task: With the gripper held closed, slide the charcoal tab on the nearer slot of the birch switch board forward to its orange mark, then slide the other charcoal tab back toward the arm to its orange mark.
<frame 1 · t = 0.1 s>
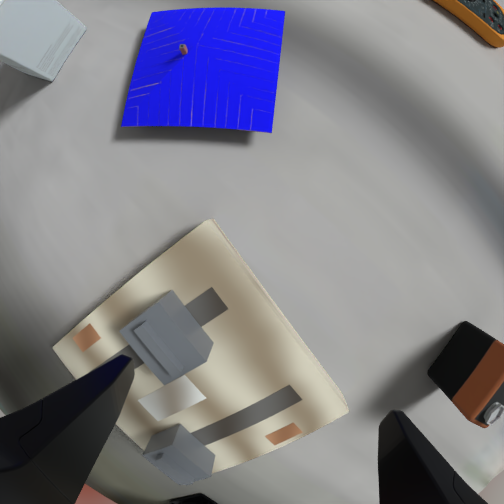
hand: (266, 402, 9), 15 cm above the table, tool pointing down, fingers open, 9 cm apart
supplement box: (54, 51, 21), on the table
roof: (208, 72, 22), on the table
switch tab a: (178, 459, 21), point 5 cm above the table, slide at 0.0 cm
switch board: (194, 373, 25), on the table
battery: (453, 352, 24), on the table
switch tab b: (165, 340, 19), point 5 cm above the table, slide at 8.0 cm
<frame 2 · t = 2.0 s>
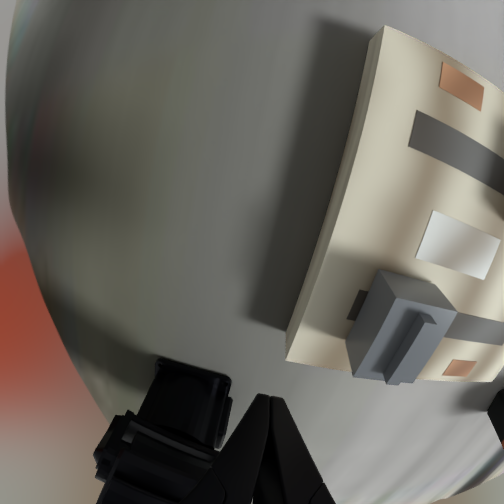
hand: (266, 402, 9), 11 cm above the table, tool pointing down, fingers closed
switch tab a: (400, 333, 14), point 5 cm above the table, slide at 0.0 cm
switch board: (460, 239, 17), on the table
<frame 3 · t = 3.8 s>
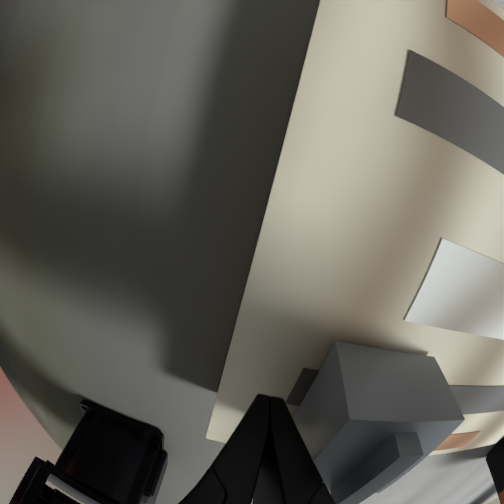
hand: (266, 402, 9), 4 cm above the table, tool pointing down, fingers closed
switch tab a: (365, 440, 8), point 5 cm above the table, slide at 0.0 cm, touching gripper
switch board: (477, 274, 10), on the table
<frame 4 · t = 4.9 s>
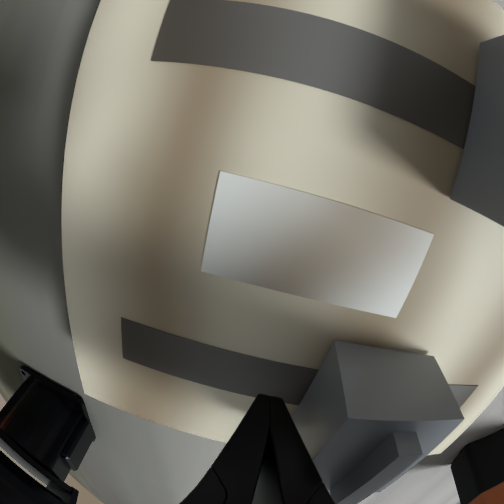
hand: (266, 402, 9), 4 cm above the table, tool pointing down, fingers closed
switch tab a: (364, 439, 8), point 5 cm above the table, slide at 6.3 cm, touching gripper
switch board: (362, 235, 10), on the table
battery: (482, 443, 16), on the table
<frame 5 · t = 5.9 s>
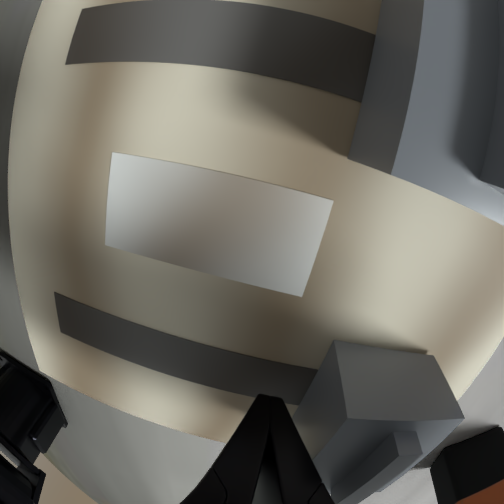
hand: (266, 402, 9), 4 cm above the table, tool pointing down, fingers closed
switch tab a: (364, 439, 8), point 5 cm above the table, slide at 9.4 cm, touching gripper
switch board: (281, 212, 10), on the table
battery: (465, 446, 16), on the table
switch tab b: (480, 89, 4), point 5 cm above the table, slide at 8.0 cm
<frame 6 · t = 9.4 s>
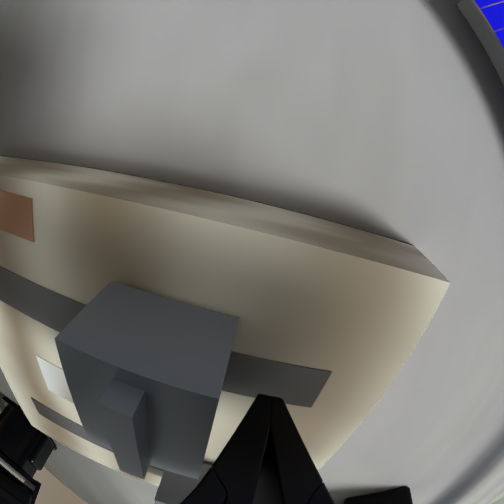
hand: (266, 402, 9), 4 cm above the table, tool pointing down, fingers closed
switch board: (145, 371, 14), on the table
battery: (374, 496, 20), on the table
switch tab b: (147, 400, 7), point 5 cm above the table, slide at 7.1 cm, touching gripper
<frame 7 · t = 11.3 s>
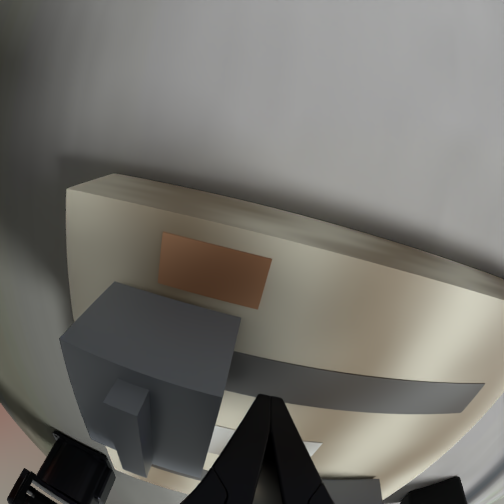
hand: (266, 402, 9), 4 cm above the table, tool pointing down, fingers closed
switch board: (292, 408, 14), on the table
battery: (429, 488, 20), on the table
switch tab b: (150, 399, 8), point 5 cm above the table, slide at -0.9 cm, touching gripper
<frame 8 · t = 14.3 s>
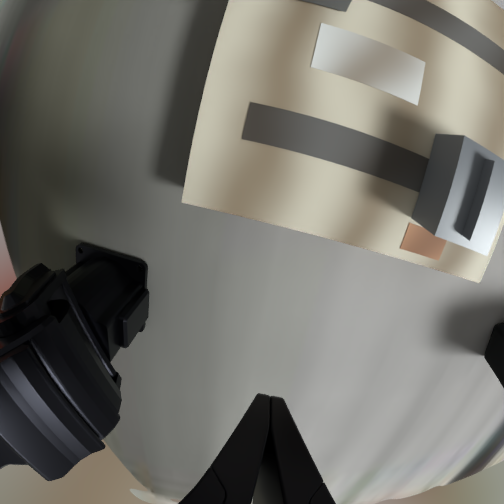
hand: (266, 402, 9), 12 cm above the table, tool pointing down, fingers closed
switch tab a: (468, 194, 12), point 5 cm above the table, slide at 9.4 cm
switch board: (387, 84, 15), on the table
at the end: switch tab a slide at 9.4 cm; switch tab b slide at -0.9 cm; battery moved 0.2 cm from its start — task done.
